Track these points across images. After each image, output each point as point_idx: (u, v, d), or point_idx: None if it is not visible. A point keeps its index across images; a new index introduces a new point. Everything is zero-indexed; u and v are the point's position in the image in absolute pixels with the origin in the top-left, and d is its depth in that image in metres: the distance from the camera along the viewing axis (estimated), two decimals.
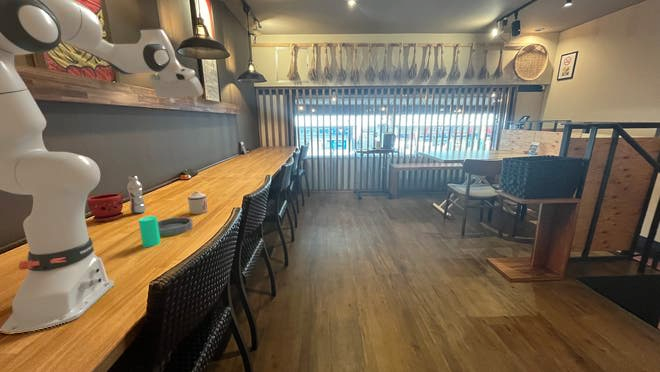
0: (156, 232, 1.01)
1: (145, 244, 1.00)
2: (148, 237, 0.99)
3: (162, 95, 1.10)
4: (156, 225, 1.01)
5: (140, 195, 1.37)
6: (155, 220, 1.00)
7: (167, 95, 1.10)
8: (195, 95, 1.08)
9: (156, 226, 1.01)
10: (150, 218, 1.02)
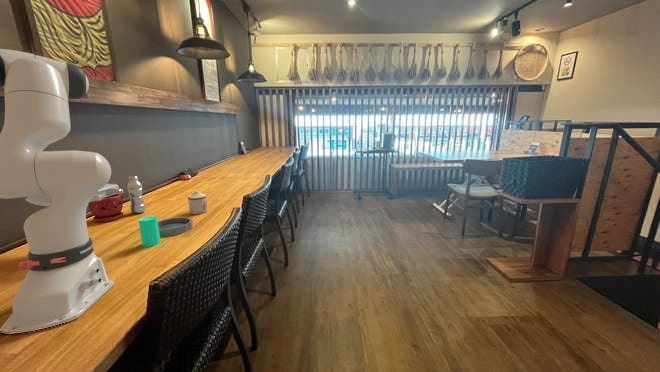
0: (156, 232, 1.01)
1: (145, 244, 1.00)
2: (148, 237, 0.99)
3: None
4: (156, 225, 1.01)
5: (140, 195, 1.37)
6: (155, 220, 1.00)
7: None
8: (114, 185, 1.06)
9: (156, 226, 1.01)
10: (150, 218, 1.02)
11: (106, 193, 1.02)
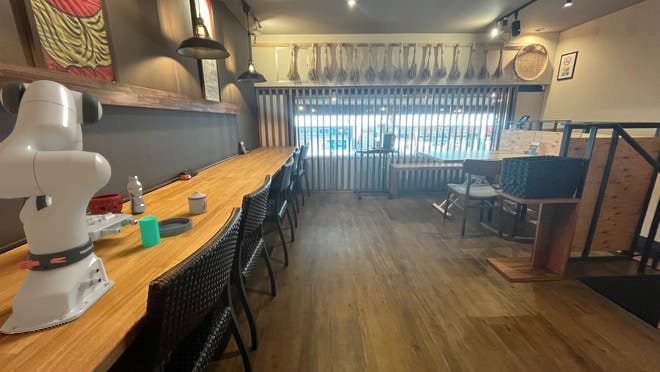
0: (156, 232, 1.01)
1: (145, 244, 1.00)
2: (148, 237, 0.99)
3: (96, 229, 0.93)
4: (156, 225, 1.01)
5: (140, 195, 1.37)
6: (155, 220, 1.00)
7: (102, 226, 0.96)
8: (128, 215, 1.08)
9: (156, 226, 1.01)
10: (150, 218, 1.02)
11: (121, 224, 1.05)
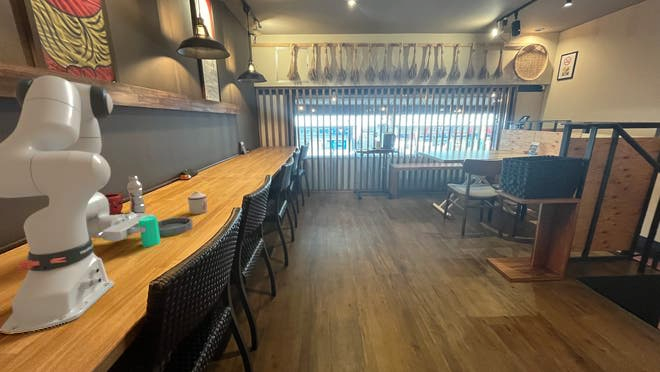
0: (156, 232, 1.01)
1: (145, 244, 1.00)
2: (148, 237, 0.99)
3: (122, 228, 0.94)
4: (156, 225, 1.01)
5: (140, 195, 1.37)
6: (155, 220, 1.00)
7: (127, 226, 0.96)
8: (150, 215, 1.08)
9: (156, 226, 1.01)
10: (150, 218, 1.02)
11: None
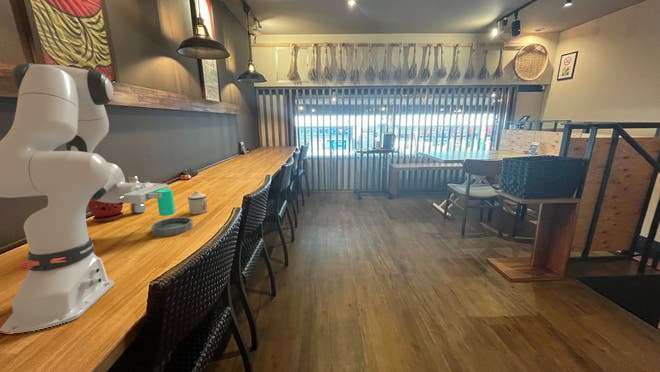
0: (172, 203, 1.12)
1: (161, 213, 1.10)
2: (164, 207, 1.10)
3: (141, 193, 1.04)
4: (171, 197, 1.12)
5: None
6: (170, 192, 1.11)
7: (145, 191, 1.06)
8: (165, 185, 1.19)
9: (171, 198, 1.12)
10: (166, 190, 1.12)
11: None
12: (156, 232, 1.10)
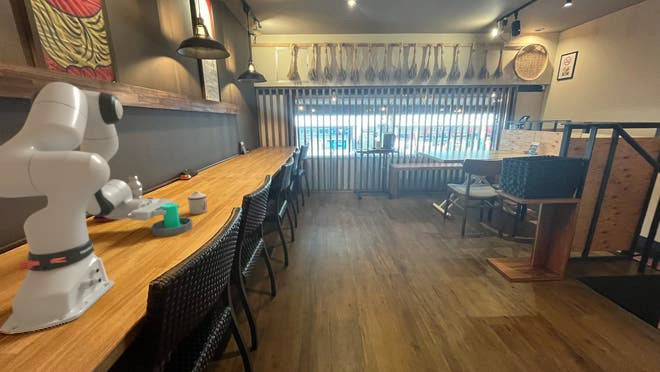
0: (177, 217, 1.16)
1: (167, 227, 1.14)
2: (170, 221, 1.14)
3: (148, 210, 1.08)
4: (176, 211, 1.15)
5: (140, 195, 1.37)
6: (176, 207, 1.15)
7: (152, 208, 1.10)
8: (170, 200, 1.22)
9: (176, 212, 1.15)
10: (171, 205, 1.16)
11: None
12: (156, 232, 1.10)
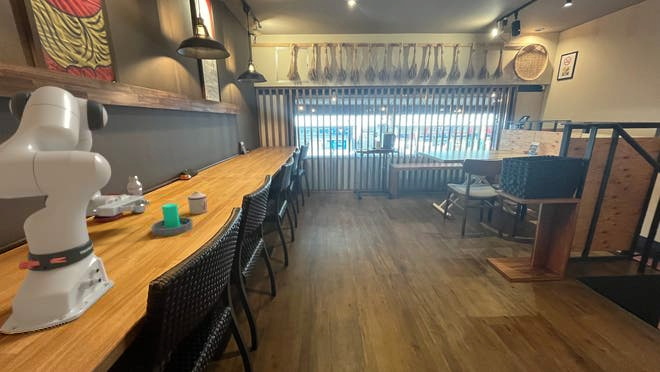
0: (177, 217, 1.16)
1: (167, 227, 1.14)
2: (170, 221, 1.14)
3: (114, 205, 1.06)
4: (176, 211, 1.15)
5: (140, 195, 1.37)
6: (176, 207, 1.15)
7: (119, 204, 1.09)
8: (141, 197, 1.21)
9: (176, 212, 1.15)
10: (171, 205, 1.16)
11: (135, 204, 1.17)
12: (156, 232, 1.10)
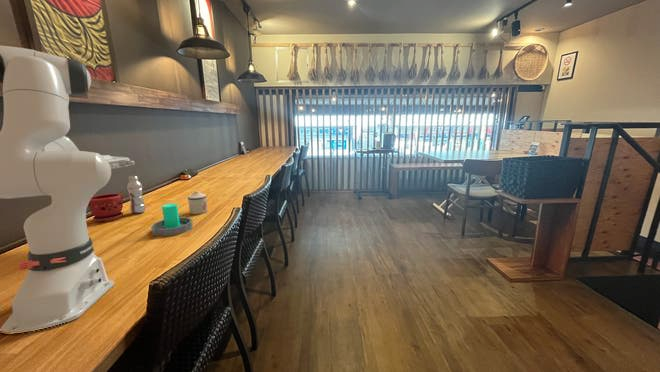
0: (177, 217, 1.16)
1: (167, 227, 1.14)
2: (170, 221, 1.14)
3: None
4: (176, 211, 1.15)
5: (140, 195, 1.37)
6: (176, 207, 1.15)
7: None
8: (125, 158, 1.14)
9: (176, 212, 1.15)
10: (171, 205, 1.16)
11: (119, 164, 1.10)
12: (156, 232, 1.10)
